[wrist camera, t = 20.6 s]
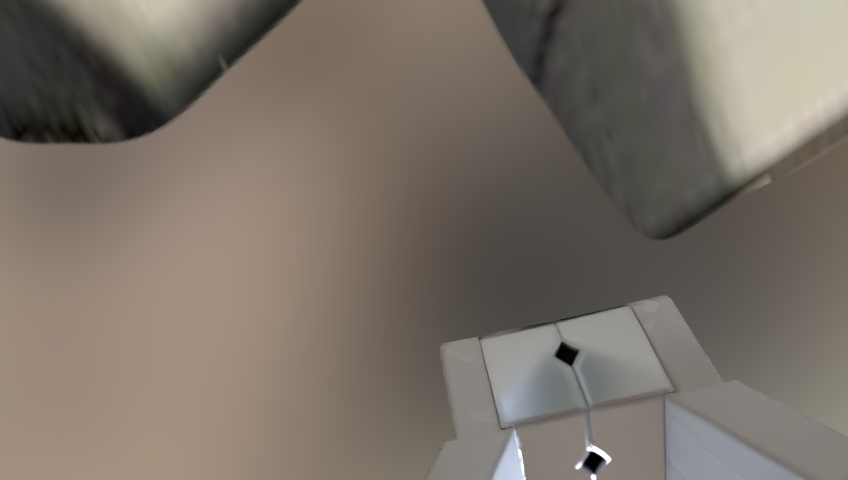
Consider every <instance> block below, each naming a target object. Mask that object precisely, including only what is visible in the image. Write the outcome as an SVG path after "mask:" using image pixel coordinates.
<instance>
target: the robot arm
mask: <svg viewBox="0 0 848 480" xmlns="http://www.w3.org/2000/svg"><path fill="white" fill-rule="evenodd" d="M440 355H441V361H442V367H443V372H444V379H445V384H446V390H447V396H448V402H449V407H450V413H451V419H452V425H453V431H454V436H455V440H453V441H448V442H444V443H443V445H442V447H441V448H440V450H439V452H438V454H437V456H436V458H435V460H434V461H433V463H432V465H431V467H430V469H429V470H428V472H427V474H426V476H425V478H424V480H848V437H847V436H845V435H843V434H841V433H839V432H837V431H835V430H833V429H831V428H829V427H827V426H825V425H823V424H821V423H819V422H817V421H815V420H814V419H812V418H810V417H808V416H806V415H804V414H802V413H799V412H798V411H795V410H794V409H792V408H790V407H788V406H786V405H784V404H782V403H780V402H778V401H776V400H774V399H772V398H770V397H768V396H766V395H764V394H762V393H760V392H759V391H757V390H754V389H752V388H751V387H749V386H747V385H745V384H743V383H741V382H739V381H737V380H733V381H728V382H723V380H722V379H721V377H720V376H719V374H718V372H717V371H716V369H715V368H714V366H713V365H712V363H711V361H710V360H709V358H708V357H707V355H706V353H705V352H704V350H703V349H702V347H701V345H700V344H699V342H698V341H697V339H696V338H695V336H694V334H693V333H692V331H691V330H690V328H689V326H688V325H687V323H686V322H685V320H684V318H683V317H682V315H681V314H680V312H679V311H678V309H677V307H676V306H675V304H674V303H673V301H672V299H671V298H669V297H667V296H665V295H663V296H658V297H654V298H650V299H646V300H642V301H638V302H633V303H629V304H627V306H626V305H623V306H618V307H614V308H609V309H605V310H600V311H596V312H592V313H587V314H583V315H578V316H574V317H570V318H565V319H561V320H556V321H552V322H547V323H542V324H537V325H532V326H527V327H521V328H517V329H511V330H506V331H501V332H496V333H491V334H486V335H480V336H479V340H478V338H477V337H474V338H469V339H464V340H458V341H454V342H448V343H443V344H440Z"/></svg>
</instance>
